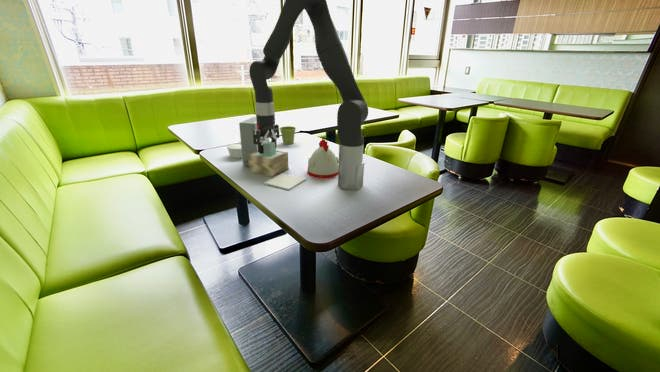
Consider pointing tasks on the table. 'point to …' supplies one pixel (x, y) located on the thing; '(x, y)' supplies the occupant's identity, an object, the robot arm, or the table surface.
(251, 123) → the hard drive box
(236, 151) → the ramekin
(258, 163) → the crate
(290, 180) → the mat
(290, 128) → the plant pot
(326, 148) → the kitchen timer
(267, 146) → the lid
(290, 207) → the table surface
